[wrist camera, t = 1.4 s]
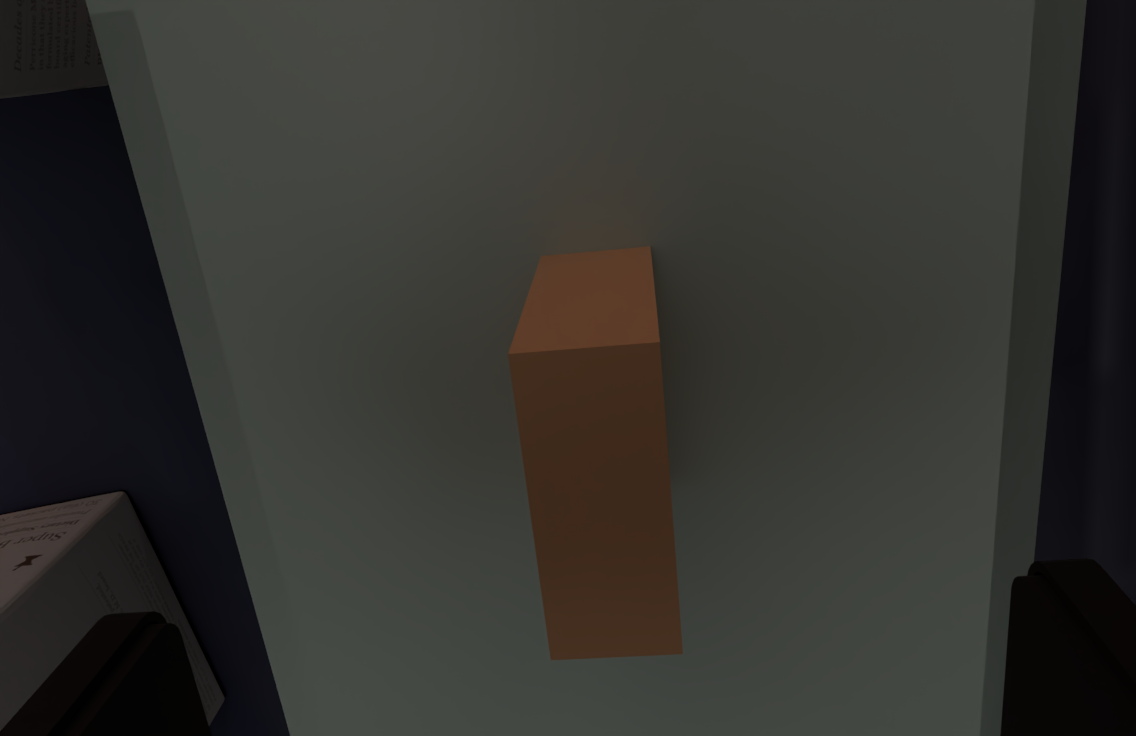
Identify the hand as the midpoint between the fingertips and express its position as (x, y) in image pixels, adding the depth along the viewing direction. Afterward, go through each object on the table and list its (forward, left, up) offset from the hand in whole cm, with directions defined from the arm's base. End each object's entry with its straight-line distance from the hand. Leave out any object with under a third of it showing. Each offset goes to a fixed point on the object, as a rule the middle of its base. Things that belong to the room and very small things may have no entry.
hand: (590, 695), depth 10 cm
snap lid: (+2, 0, -10) cm, 11 cm away
